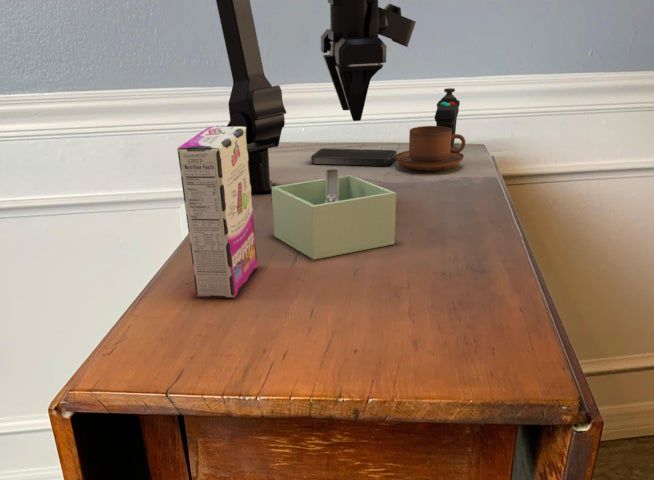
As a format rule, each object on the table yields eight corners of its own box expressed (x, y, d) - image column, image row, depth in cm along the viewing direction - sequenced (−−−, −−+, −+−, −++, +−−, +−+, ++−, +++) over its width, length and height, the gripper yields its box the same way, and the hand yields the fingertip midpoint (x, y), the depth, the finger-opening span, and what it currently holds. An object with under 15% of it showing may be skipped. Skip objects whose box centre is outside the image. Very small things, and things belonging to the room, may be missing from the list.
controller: (457, 142, 158) (461, 86, 153) (453, 156, 149) (458, 96, 143) (436, 142, 159) (439, 86, 153) (430, 156, 149) (433, 96, 144)
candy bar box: (220, 266, 101) (206, 125, 91) (258, 267, 100) (248, 125, 90) (193, 298, 92) (175, 145, 82) (234, 299, 91) (221, 145, 82)
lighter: (337, 240, 106) (337, 177, 101) (324, 240, 106) (323, 177, 102) (339, 225, 112) (338, 165, 107) (327, 225, 112) (326, 165, 107)
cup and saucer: (443, 157, 148) (446, 121, 144) (474, 170, 139) (478, 132, 135) (384, 164, 145) (385, 127, 141) (412, 178, 136) (413, 139, 132)
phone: (389, 159, 143) (309, 156, 146) (389, 166, 143) (309, 163, 147) (398, 150, 149) (321, 148, 152) (397, 156, 149) (321, 154, 153)
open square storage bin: (274, 236, 111) (271, 186, 107) (350, 222, 115) (350, 174, 111) (313, 259, 102) (312, 206, 98) (394, 244, 106) (396, 192, 102)
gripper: (428, -16, 97) (421, 123, 106) (396, -20, 113) (393, 102, 122) (339, -12, 97) (340, 128, 106) (319, -17, 112) (321, 106, 121)
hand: (351, 115), depth 113 cm, fingers open, 9 cm apart
